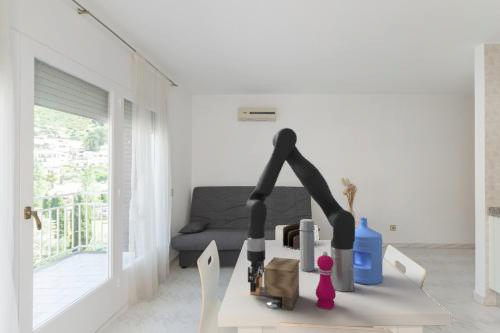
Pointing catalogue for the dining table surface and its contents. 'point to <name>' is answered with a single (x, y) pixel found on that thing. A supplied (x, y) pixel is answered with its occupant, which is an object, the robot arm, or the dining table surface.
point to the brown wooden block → (282, 280)
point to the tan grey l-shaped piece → (261, 288)
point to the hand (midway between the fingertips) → (256, 288)
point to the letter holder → (291, 236)
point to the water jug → (367, 255)
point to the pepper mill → (325, 282)
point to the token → (273, 303)
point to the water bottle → (307, 245)
